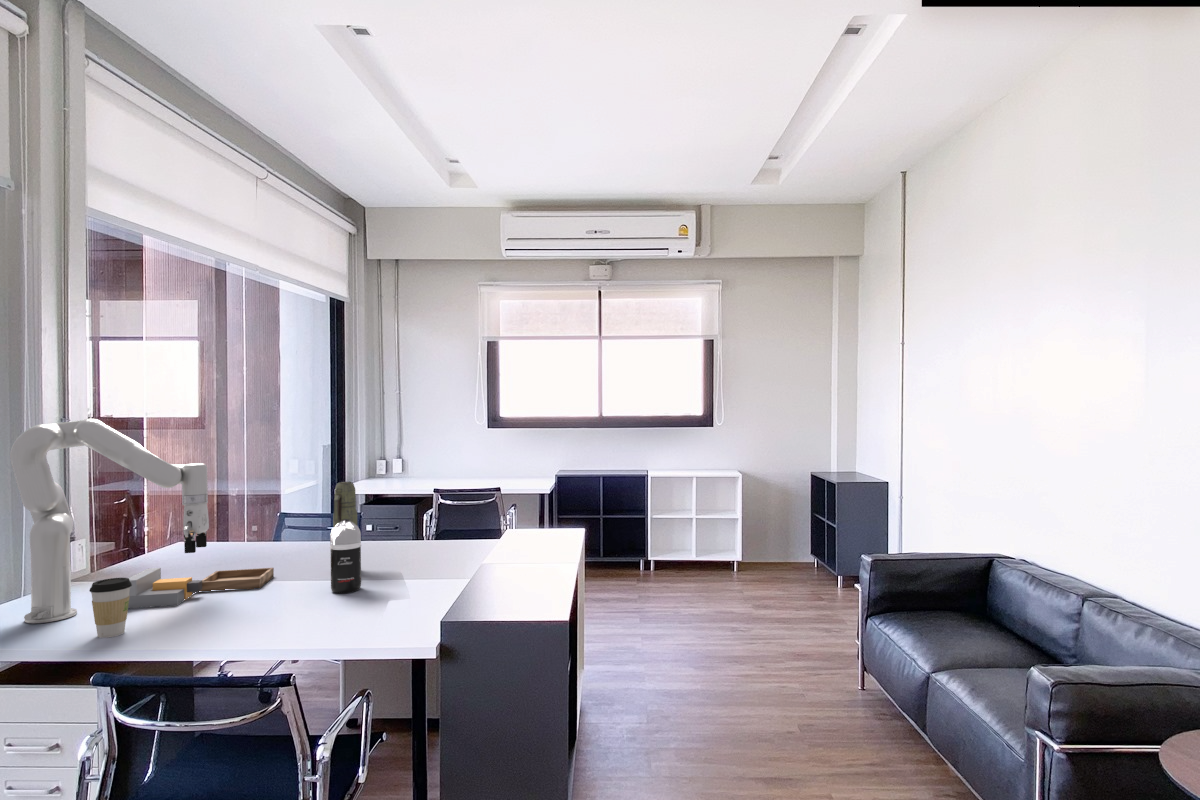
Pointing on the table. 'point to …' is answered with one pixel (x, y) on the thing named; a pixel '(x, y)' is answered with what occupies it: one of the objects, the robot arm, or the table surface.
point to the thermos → (344, 503)
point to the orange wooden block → (179, 585)
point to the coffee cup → (110, 605)
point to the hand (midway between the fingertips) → (195, 549)
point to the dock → (151, 591)
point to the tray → (237, 579)
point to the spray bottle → (345, 557)
